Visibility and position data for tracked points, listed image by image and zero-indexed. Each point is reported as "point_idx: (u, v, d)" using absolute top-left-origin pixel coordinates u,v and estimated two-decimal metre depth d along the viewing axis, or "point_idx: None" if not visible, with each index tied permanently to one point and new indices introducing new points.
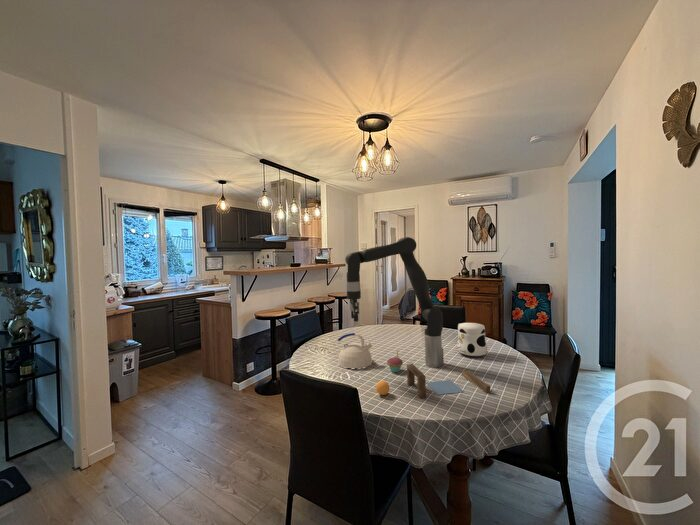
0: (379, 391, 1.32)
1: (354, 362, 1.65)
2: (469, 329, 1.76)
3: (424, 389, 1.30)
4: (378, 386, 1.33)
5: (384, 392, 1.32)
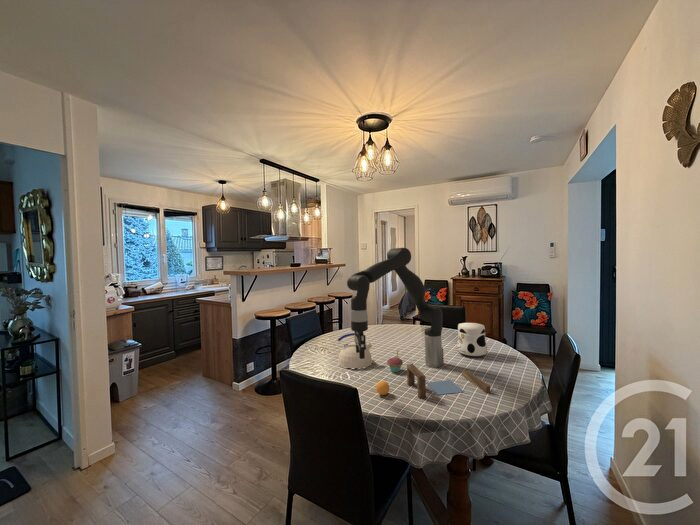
0: (379, 391, 1.32)
1: (354, 362, 1.65)
2: (469, 329, 1.76)
3: (424, 389, 1.30)
4: (378, 386, 1.33)
5: (384, 392, 1.32)
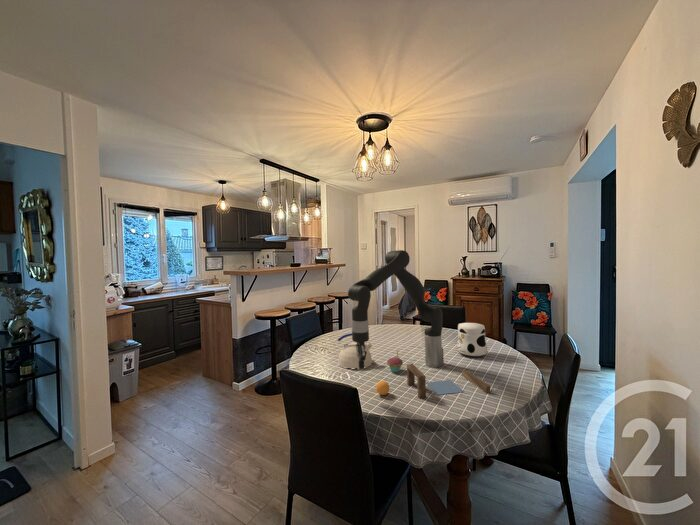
0: (379, 391, 1.32)
1: (354, 362, 1.65)
2: (469, 329, 1.76)
3: (424, 389, 1.30)
4: (378, 386, 1.33)
5: (384, 392, 1.32)
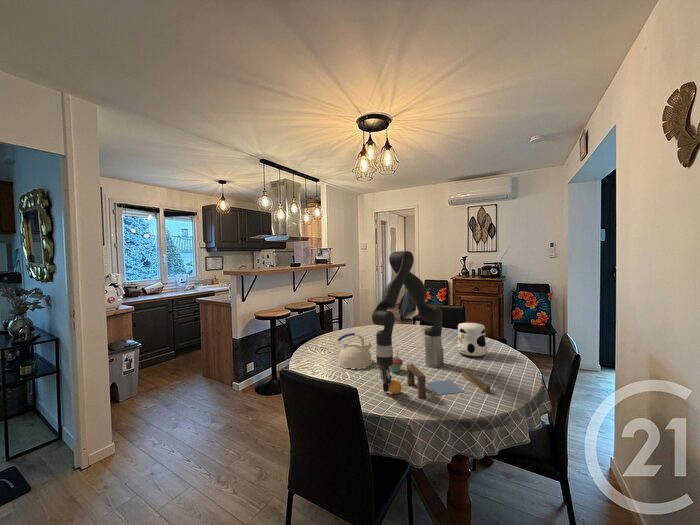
0: (394, 384, 1.33)
1: (354, 362, 1.65)
2: (469, 329, 1.76)
3: (424, 389, 1.30)
4: (398, 383, 1.34)
5: (394, 390, 1.32)
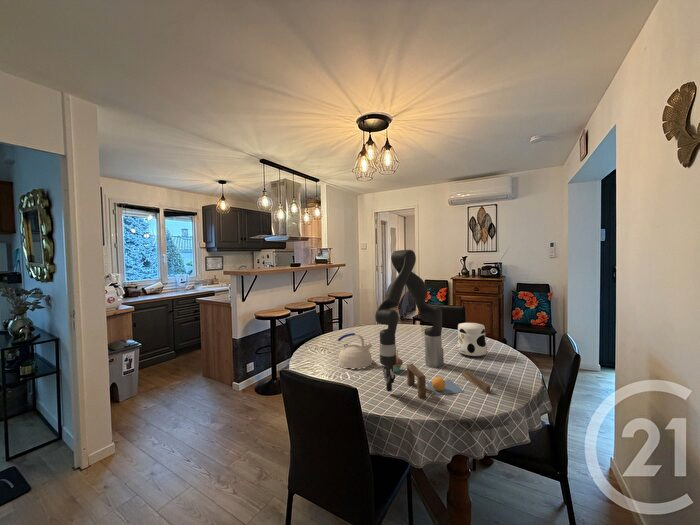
0: (441, 381, 1.34)
1: (354, 362, 1.65)
2: (469, 329, 1.76)
3: (424, 389, 1.30)
4: (444, 382, 1.35)
5: (439, 386, 1.33)
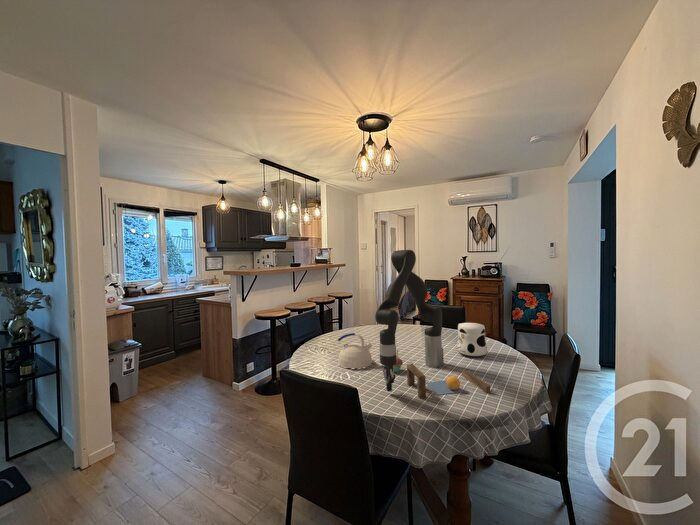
0: (457, 388, 1.35)
1: (354, 362, 1.65)
2: (469, 329, 1.76)
3: (424, 389, 1.30)
4: (452, 389, 1.36)
5: (457, 384, 1.34)
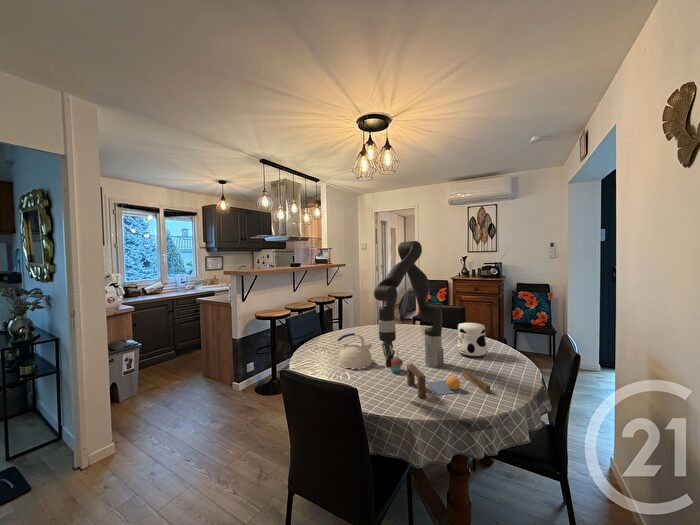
0: (457, 388, 1.35)
1: (354, 362, 1.65)
2: (469, 329, 1.76)
3: (424, 389, 1.30)
4: (452, 389, 1.36)
5: (457, 384, 1.34)
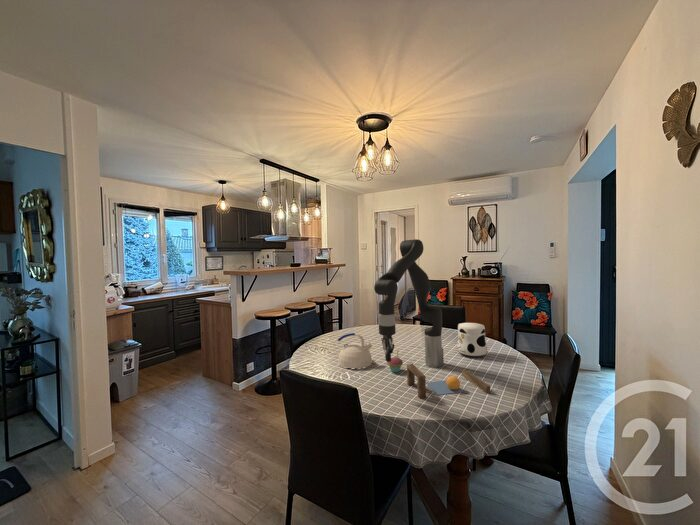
0: (457, 388, 1.35)
1: (354, 362, 1.65)
2: (469, 329, 1.76)
3: (424, 389, 1.30)
4: (452, 389, 1.36)
5: (457, 384, 1.34)
